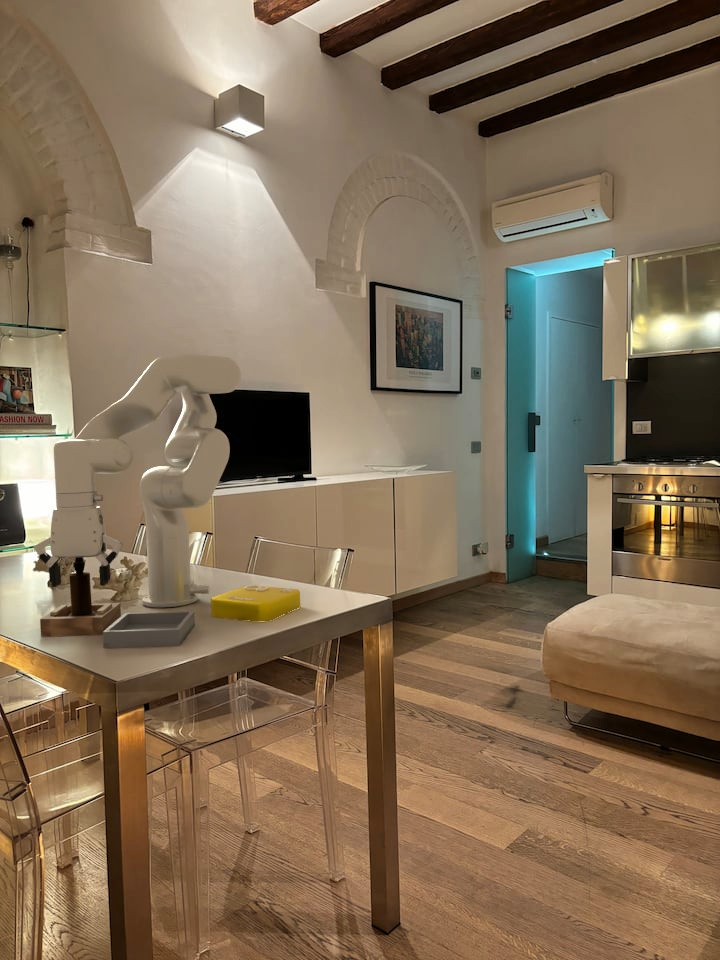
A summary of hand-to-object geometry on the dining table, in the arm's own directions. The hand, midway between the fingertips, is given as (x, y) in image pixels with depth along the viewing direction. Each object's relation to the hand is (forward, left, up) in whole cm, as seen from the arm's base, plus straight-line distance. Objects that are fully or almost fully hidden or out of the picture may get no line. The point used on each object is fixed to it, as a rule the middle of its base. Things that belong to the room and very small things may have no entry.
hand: (80, 584), depth 149 cm
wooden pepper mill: (0, 0, -9) cm, 9 cm away
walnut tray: (0, 0, -9) cm, 9 cm away
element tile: (-34, -9, -10) cm, 37 cm away
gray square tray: (-16, +8, -9) cm, 20 cm away
